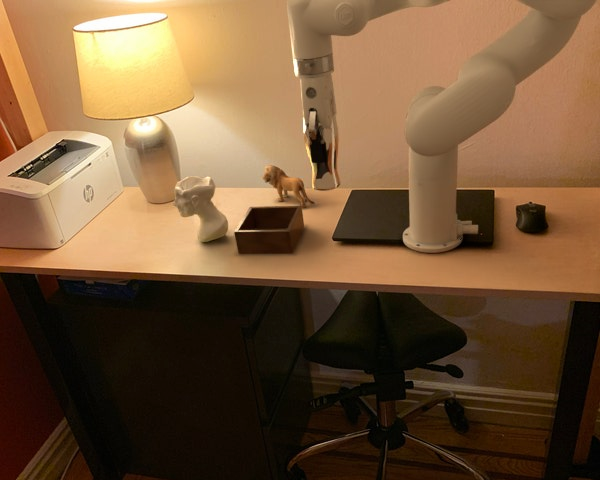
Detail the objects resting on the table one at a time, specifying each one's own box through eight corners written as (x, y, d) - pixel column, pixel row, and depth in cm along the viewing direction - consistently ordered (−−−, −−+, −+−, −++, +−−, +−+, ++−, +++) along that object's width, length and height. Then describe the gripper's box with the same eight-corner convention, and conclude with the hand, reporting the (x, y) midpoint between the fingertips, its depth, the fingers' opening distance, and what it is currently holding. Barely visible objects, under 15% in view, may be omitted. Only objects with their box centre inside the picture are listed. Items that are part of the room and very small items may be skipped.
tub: (304, 226, 140) (301, 205, 136) (292, 253, 129) (289, 231, 126) (253, 227, 143) (249, 206, 140) (238, 253, 132) (233, 231, 129)
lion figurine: (263, 201, 155) (257, 168, 150) (275, 193, 158) (270, 161, 153) (309, 209, 147) (305, 175, 142) (321, 201, 150) (317, 167, 145)
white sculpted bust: (235, 241, 137) (223, 181, 129) (189, 255, 135) (173, 194, 126) (224, 226, 145) (211, 168, 137) (179, 238, 142) (164, 180, 134)
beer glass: (340, 191, 122) (333, 119, 113) (307, 192, 123) (298, 121, 115) (344, 177, 127) (338, 108, 119) (313, 179, 129) (305, 110, 121)
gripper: (325, 75, 104) (334, 171, 114) (340, 52, 118) (347, 139, 128) (284, 78, 106) (296, 172, 116) (303, 55, 120) (313, 141, 130)
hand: (323, 154), depth 122 cm, fingers closed on beer glass, 7 cm apart
